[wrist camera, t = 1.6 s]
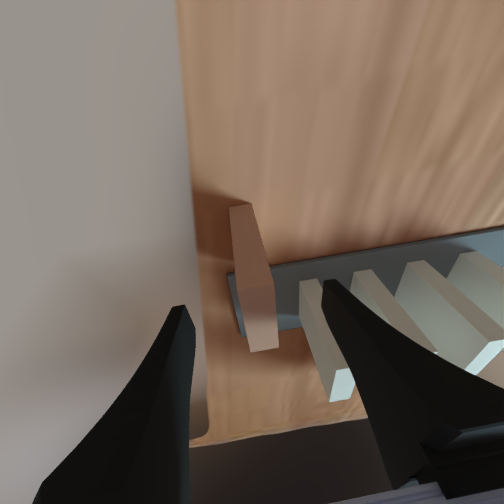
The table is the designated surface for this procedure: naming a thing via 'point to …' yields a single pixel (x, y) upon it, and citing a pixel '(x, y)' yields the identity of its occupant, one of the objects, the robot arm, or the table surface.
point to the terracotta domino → (253, 280)
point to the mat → (378, 260)
